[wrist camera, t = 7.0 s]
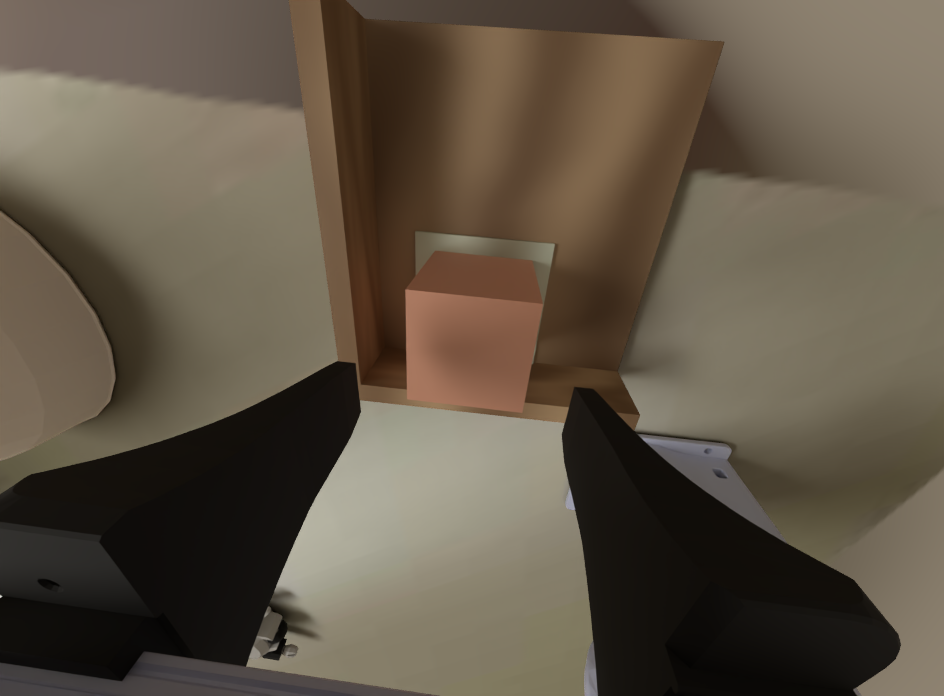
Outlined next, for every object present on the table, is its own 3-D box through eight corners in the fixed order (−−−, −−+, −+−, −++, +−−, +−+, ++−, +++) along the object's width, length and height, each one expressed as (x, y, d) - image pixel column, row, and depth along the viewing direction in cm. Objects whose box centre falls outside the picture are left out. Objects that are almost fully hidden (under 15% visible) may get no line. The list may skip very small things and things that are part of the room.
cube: (532, 260, 18) (542, 304, 12) (518, 346, 20) (522, 412, 15) (435, 250, 18) (405, 289, 13) (432, 336, 20) (407, 399, 15)
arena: (713, 47, 14) (802, 0, 10) (609, 377, 22) (634, 430, 18) (348, 23, 15) (284, -30, 10) (374, 352, 22) (343, 398, 18)
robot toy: (279, 574, 39) (151, 579, 40) (257, 621, 35) (115, 625, 36) (312, 628, 45) (200, 631, 45) (296, 674, 41) (173, 677, 41)
